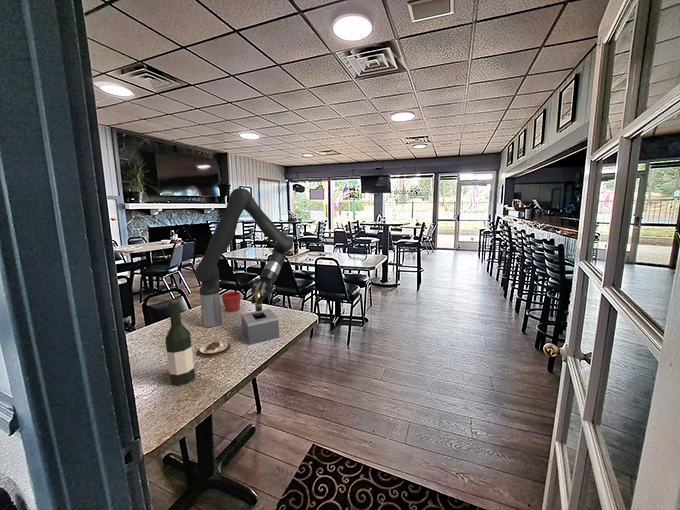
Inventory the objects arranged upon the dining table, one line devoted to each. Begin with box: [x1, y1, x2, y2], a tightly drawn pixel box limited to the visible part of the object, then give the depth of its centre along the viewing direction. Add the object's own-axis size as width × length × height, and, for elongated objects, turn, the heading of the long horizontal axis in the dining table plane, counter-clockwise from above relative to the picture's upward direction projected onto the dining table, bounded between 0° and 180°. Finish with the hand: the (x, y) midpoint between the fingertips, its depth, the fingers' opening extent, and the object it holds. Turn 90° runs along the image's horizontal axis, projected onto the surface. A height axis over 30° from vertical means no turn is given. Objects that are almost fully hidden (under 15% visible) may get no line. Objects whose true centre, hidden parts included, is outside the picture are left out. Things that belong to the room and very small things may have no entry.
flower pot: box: [221, 291, 241, 313], centre depth 179 cm, size 11×11×10 cm
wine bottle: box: [164, 298, 196, 387], centre depth 107 cm, size 8×8×30 cm
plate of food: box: [198, 339, 232, 359], centre depth 130 cm, size 15×15×4 cm
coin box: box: [240, 308, 280, 346], centre depth 143 cm, size 14×14×10 cm
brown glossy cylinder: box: [254, 290, 263, 311], centre depth 141 cm, size 3×3×9 cm
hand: (255, 303), depth 139 cm, fingers closed on brown glossy cylinder, 3 cm apart
